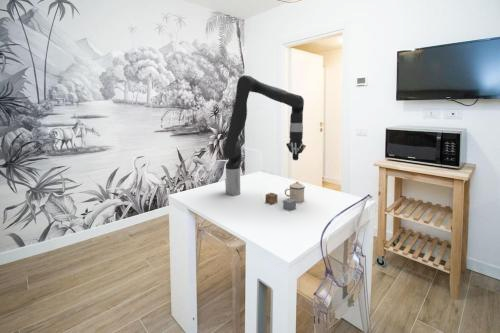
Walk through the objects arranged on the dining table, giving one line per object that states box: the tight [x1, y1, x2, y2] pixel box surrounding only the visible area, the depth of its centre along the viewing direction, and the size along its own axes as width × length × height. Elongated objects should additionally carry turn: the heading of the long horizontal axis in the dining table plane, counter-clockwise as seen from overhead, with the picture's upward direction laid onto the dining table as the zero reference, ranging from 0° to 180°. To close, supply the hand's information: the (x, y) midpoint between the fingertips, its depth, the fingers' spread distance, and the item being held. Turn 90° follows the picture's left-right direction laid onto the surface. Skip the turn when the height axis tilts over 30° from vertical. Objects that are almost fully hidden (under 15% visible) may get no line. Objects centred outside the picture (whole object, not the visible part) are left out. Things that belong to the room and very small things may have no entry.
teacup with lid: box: [284, 180, 305, 203], centre depth 165 cm, size 12×9×12 cm
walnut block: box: [265, 192, 278, 205], centre depth 162 cm, size 5×5×5 cm
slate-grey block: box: [282, 197, 297, 212], centre depth 152 cm, size 5×5×5 cm
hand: (295, 160), depth 161 cm, fingers closed
